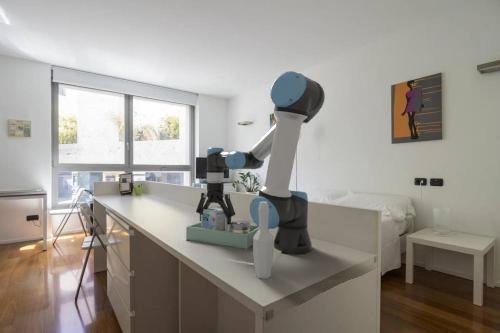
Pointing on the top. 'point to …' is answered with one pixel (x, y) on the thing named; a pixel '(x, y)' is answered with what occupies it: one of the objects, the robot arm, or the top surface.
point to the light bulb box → (214, 219)
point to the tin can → (240, 226)
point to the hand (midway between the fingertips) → (215, 230)
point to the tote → (221, 236)
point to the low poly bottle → (263, 244)
